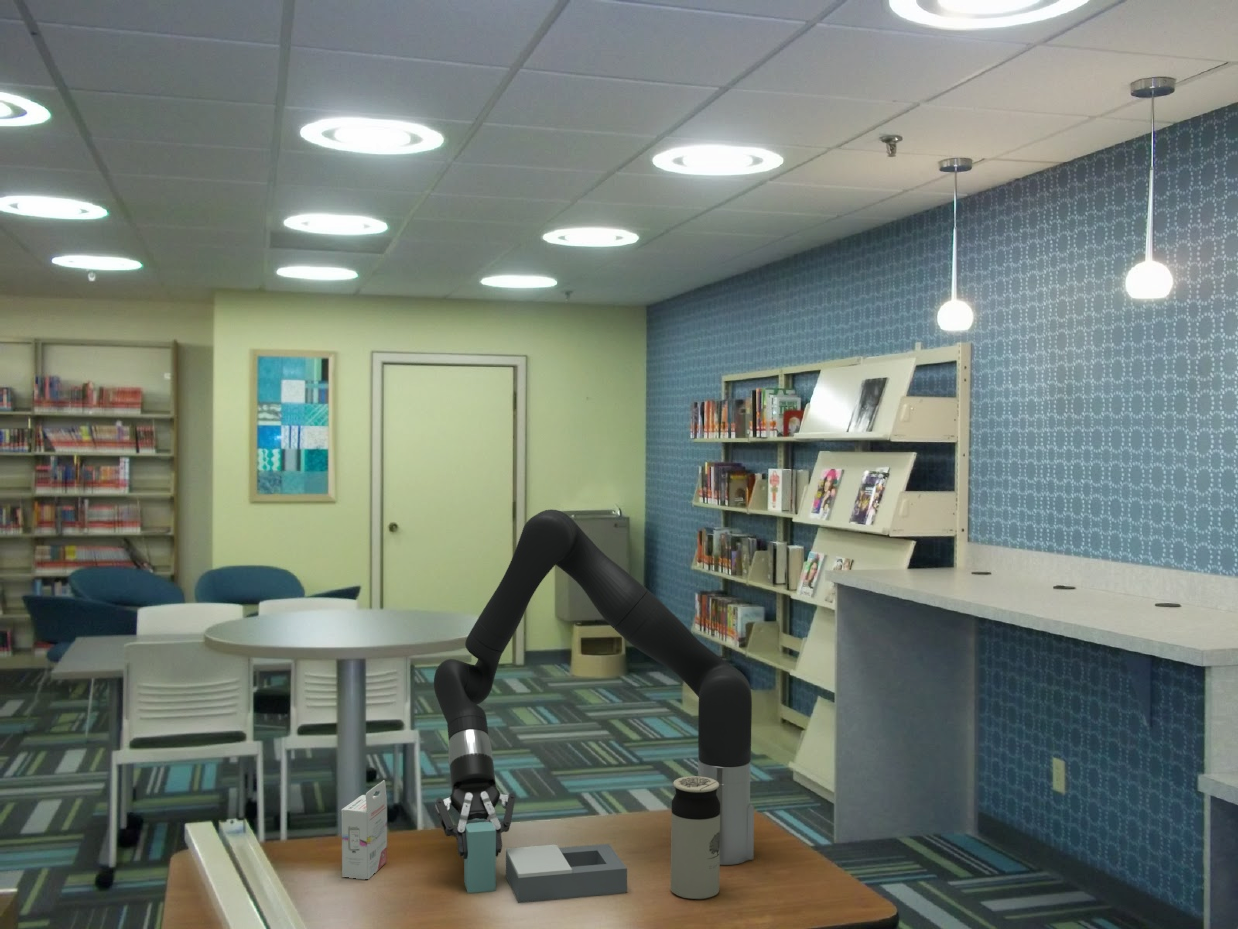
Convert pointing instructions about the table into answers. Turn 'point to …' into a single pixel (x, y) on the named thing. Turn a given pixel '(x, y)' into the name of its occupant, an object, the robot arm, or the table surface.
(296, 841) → the table surface
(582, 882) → the rail
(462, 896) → the table surface
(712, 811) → the travel mug
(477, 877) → the teal peg
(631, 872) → the table surface
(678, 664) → the robot arm
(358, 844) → the ink cartridge box
